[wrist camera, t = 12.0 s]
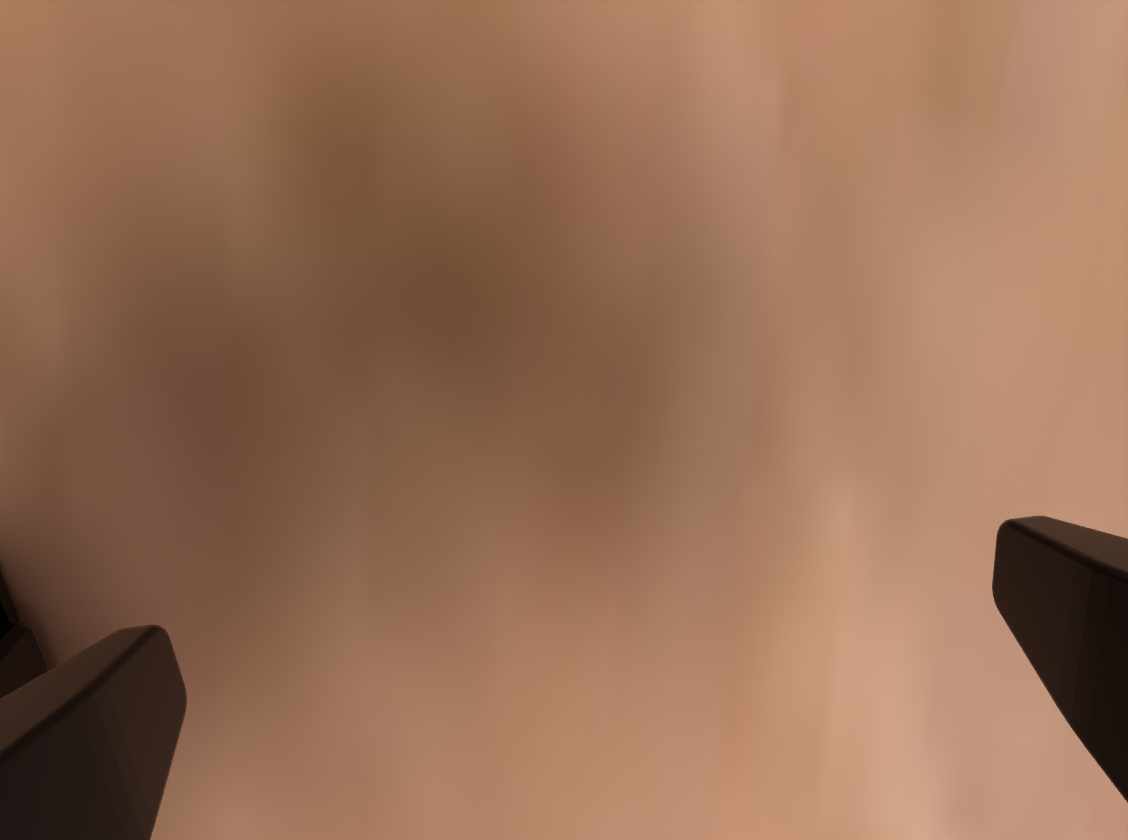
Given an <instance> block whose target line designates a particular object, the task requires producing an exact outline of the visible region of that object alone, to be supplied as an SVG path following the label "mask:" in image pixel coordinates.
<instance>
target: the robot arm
mask: <svg viewBox="0 0 1128 840" xmlns="http://www.w3.org/2000/svg"><path fill="white" fill-rule="evenodd" d="M992 590H993V597H994V601H995V604H996V606H997V608H998V610H999V612H1000V614H1001V615H1002V617H1003V619H1004V620H1005V622H1006V624H1007V625H1008V627H1009V629H1010V630H1011V632H1012V633H1013V635H1014V637H1015V638H1016V640H1017V642H1018V643H1019V645H1020V646H1021V648H1022V650H1023V651H1024V653H1025V655H1026V656H1027V658H1028V660H1029V661H1030V663H1031V664H1032V666H1033V668H1034V669H1035V671H1036V673H1037V674H1038V676H1039V678H1040V679H1041V681H1042V682H1043V684H1044V686H1045V687H1046V689H1047V691H1048V692H1049V694H1050V696H1051V697H1052V699H1053V700H1054V702H1055V704H1056V705H1057V707H1058V708H1059V710H1060V711H1061V713H1062V715H1063V716H1064V718H1065V719H1066V721H1067V722H1068V724H1069V725H1070V727H1071V728H1072V729H1073V731H1074V732H1075V734H1076V735H1077V736H1078V738H1079V739H1080V740H1081V742H1082V743H1083V745H1084V746H1085V747H1086V749H1087V750H1088V751H1089V753H1090V754H1091V755H1092V757H1093V758H1094V759H1095V760H1096V762H1097V763H1098V764H1099V766H1100V767H1101V768H1102V770H1103V771H1104V772H1105V774H1106V775H1107V776H1108V778H1109V779H1110V780H1111V782H1112V783H1113V784H1114V785H1115V787H1116V788H1117V789H1118V791H1119V792H1120V793H1121V795H1122V796H1123V797H1124V799H1125V800H1126V801H1127V803H1128V539H1127V538H1123V537H1120V536H1116V535H1112V534H1109V533H1105V532H1101V531H1097V530H1094V529H1090V528H1086V527H1083V526H1079V525H1075V524H1072V523H1068V522H1064V521H1061V520H1057V519H1053V518H1049V517H1046V516H1031V517H1023V518H1015V519H1009V520H1006V521H1005V522H1003V523H1002V524H1001V525H1000V527H999V529H998V533H997V539H996V550H995V561H994V572H993V582H992ZM186 704H187V696H186V689H185V685H184V682H183V679H182V676H181V672H180V669H179V666H178V663H177V660H176V656H175V653H174V650H173V647H172V644H171V640H170V638H169V635H168V633H167V632H166V630H165V629H164V628H162V627H161V626H159V625H147V626H139V627H131V628H124V629H120V630H118V631H116V632H114V633H112V634H111V635H109V636H107V637H106V638H104V639H102V640H101V641H99V642H97V643H95V644H94V645H92V646H90V647H89V648H87V649H85V650H83V651H82V652H80V653H78V654H77V655H75V656H73V657H71V658H70V659H68V660H66V661H65V662H63V663H61V664H59V665H58V666H56V667H54V668H53V669H51V670H49V671H48V670H47V667H46V665H45V662H44V660H43V657H42V655H41V653H40V650H39V648H38V645H37V643H36V640H35V638H34V635H33V633H32V630H31V629H30V628H29V627H27V626H26V625H25V624H23V623H21V622H20V620H19V617H18V615H17V612H16V610H15V607H14V605H13V603H12V600H11V598H10V595H9V593H8V590H7V588H6V585H5V583H4V581H3V578H2V576H1V573H0V840H150V838H151V835H152V832H153V829H154V825H155V822H156V818H157V815H158V811H159V807H160V804H161V800H162V796H163V793H164V789H165V785H166V782H167V778H168V774H169V771H170V767H171V764H172V760H173V756H174V753H175V749H176V745H177V742H178V738H179V734H180V731H181V727H182V723H183V720H184V716H185V712H186Z"/></svg>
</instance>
